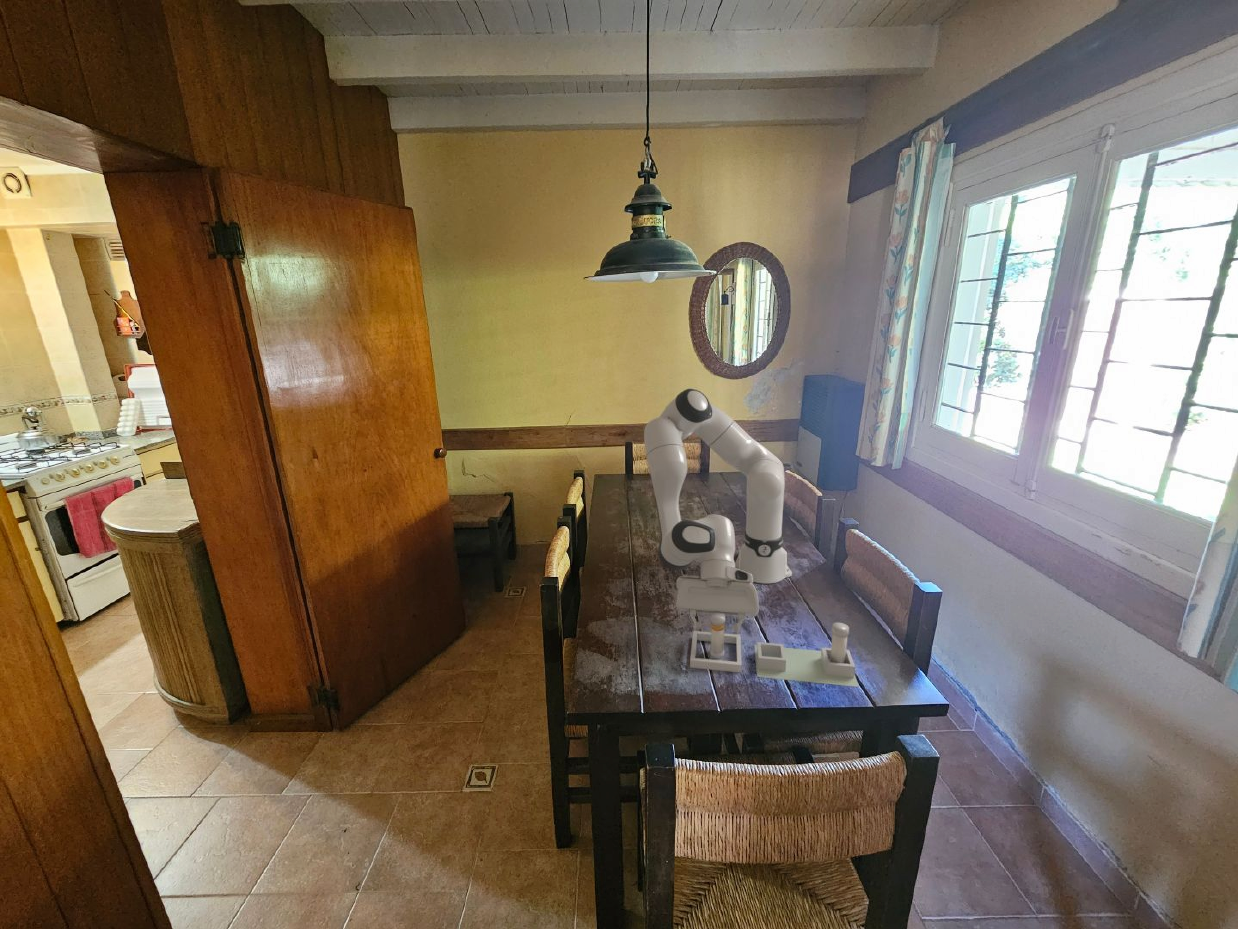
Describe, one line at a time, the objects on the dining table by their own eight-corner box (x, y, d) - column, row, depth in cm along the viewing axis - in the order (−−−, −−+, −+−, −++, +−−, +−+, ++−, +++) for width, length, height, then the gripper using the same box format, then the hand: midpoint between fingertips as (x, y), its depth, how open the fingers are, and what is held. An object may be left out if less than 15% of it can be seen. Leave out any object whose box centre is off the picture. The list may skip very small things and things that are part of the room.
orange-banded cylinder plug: (709, 649, 128) (710, 611, 125) (724, 651, 127) (725, 612, 124) (709, 658, 124) (710, 619, 121) (724, 660, 124) (725, 620, 121)
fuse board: (754, 648, 129) (754, 634, 128) (846, 656, 124) (848, 642, 123) (757, 680, 117) (757, 665, 116) (858, 690, 113) (860, 675, 112)
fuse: (827, 662, 121) (830, 622, 118) (843, 663, 120) (847, 623, 117) (830, 672, 118) (833, 631, 115) (846, 673, 117) (850, 632, 114)
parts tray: (693, 640, 133) (693, 630, 132) (740, 645, 130) (740, 634, 129) (690, 671, 121) (690, 660, 121) (741, 676, 119) (741, 665, 118)
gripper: (676, 570, 129) (672, 625, 123) (758, 575, 125) (760, 632, 118) (677, 577, 135) (674, 630, 128) (757, 582, 130) (758, 637, 124)
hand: (716, 631), depth 123 cm, fingers open, 8 cm apart
